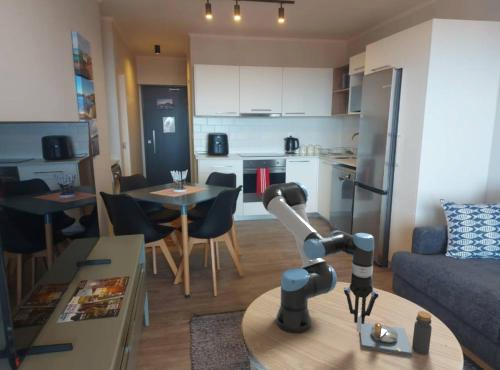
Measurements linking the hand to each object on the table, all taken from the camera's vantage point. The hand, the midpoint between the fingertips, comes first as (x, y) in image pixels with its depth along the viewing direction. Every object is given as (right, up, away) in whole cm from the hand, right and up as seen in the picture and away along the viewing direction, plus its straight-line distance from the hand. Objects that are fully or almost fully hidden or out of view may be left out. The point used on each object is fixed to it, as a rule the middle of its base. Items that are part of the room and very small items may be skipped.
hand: (358, 330), depth 131 cm
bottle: (+23, -7, -2) cm, 24 cm away
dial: (+11, -4, +3) cm, 12 cm away
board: (+11, -5, +4) cm, 13 cm away
